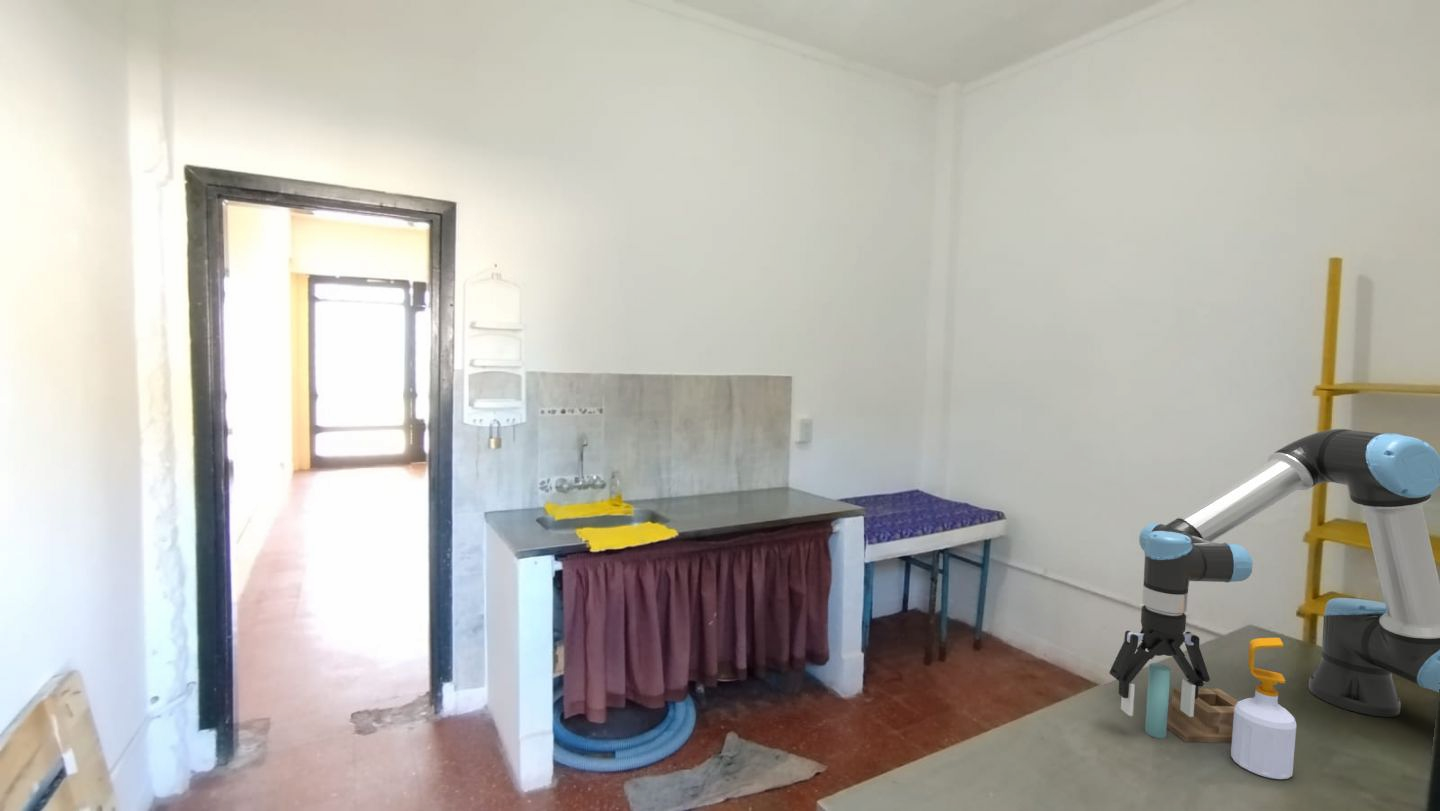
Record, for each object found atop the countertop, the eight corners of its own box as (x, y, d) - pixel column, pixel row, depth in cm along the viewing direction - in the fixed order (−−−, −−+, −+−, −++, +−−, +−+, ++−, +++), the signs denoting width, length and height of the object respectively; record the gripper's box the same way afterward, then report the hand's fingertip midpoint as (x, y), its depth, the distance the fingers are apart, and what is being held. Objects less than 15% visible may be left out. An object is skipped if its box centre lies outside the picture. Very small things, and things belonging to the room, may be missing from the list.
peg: (1158, 728, 137) (1162, 663, 136) (1170, 738, 133) (1174, 671, 132) (1140, 728, 137) (1145, 662, 136) (1152, 738, 133) (1157, 671, 132)
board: (1235, 711, 144) (1237, 686, 144) (1283, 743, 132) (1285, 715, 132) (1145, 710, 144) (1147, 685, 144) (1185, 742, 132) (1187, 714, 132)
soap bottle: (1297, 786, 119) (1308, 653, 117) (1233, 769, 123) (1243, 641, 122) (1287, 762, 126) (1297, 636, 125) (1227, 746, 131) (1236, 625, 129)
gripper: (1208, 603, 137) (1201, 704, 139) (1094, 601, 137) (1088, 702, 138) (1237, 617, 130) (1229, 723, 131) (1116, 615, 129) (1109, 721, 131)
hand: (1156, 713), depth 135 cm, fingers open, 12 cm apart
